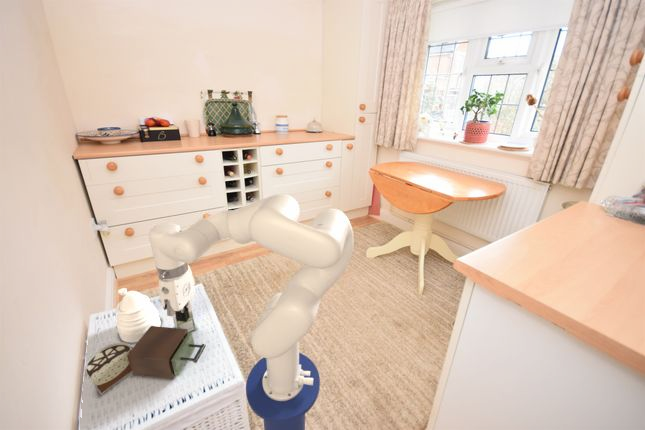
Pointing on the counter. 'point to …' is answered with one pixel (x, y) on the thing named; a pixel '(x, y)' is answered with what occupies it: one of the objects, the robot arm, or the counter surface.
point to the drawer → (185, 354)
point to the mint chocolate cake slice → (108, 366)
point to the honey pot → (135, 315)
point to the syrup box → (190, 323)
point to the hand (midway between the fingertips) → (183, 319)
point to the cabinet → (156, 352)
